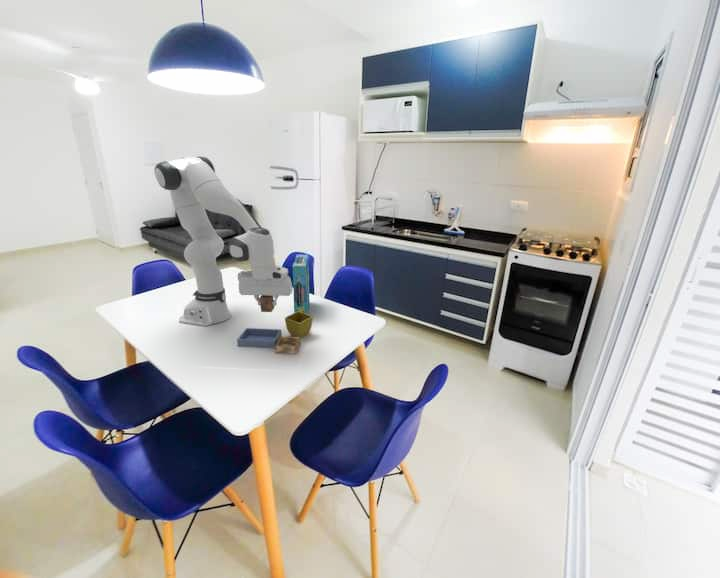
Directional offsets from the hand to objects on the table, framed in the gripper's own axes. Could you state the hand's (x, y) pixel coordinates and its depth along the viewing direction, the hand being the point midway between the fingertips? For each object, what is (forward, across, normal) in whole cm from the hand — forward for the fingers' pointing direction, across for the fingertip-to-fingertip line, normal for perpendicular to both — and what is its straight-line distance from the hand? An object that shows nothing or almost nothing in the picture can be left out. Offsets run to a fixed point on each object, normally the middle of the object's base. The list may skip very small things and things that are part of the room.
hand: (267, 305), depth 129 cm
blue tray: (+18, -6, +2) cm, 19 cm away
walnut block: (+2, 0, 0) cm, 2 cm away
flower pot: (+19, +9, +10) cm, 23 cm away
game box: (+19, +5, +36) cm, 40 cm away
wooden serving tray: (+18, +8, -2) cm, 20 cm away
